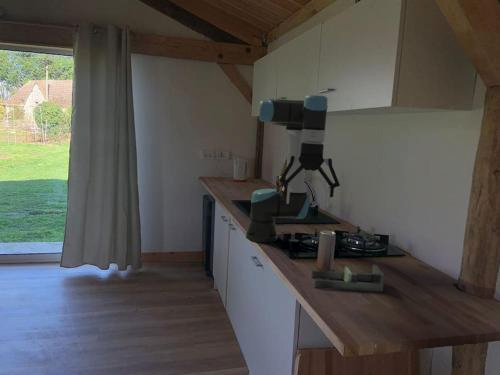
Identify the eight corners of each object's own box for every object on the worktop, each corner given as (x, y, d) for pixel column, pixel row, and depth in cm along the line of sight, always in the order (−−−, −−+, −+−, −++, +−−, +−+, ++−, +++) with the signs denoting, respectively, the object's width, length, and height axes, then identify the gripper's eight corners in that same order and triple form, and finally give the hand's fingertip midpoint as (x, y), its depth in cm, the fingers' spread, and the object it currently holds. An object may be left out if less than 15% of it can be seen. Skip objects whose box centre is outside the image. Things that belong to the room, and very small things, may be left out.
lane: (310, 276, 147) (312, 260, 146) (374, 280, 147) (376, 264, 145) (314, 287, 137) (316, 270, 136) (382, 291, 137) (384, 275, 136)
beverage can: (321, 266, 158) (324, 229, 155) (335, 270, 154) (338, 232, 152) (313, 270, 153) (316, 232, 151) (327, 274, 150) (331, 235, 147)
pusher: (343, 279, 145) (344, 266, 144) (352, 280, 145) (354, 266, 144) (347, 287, 138) (348, 273, 138) (357, 287, 138) (358, 274, 138)
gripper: (274, 140, 133) (270, 203, 136) (351, 145, 129) (345, 210, 133) (276, 139, 140) (272, 199, 143) (349, 144, 136) (343, 205, 140)
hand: (307, 204), depth 138 cm, fingers open, 13 cm apart
